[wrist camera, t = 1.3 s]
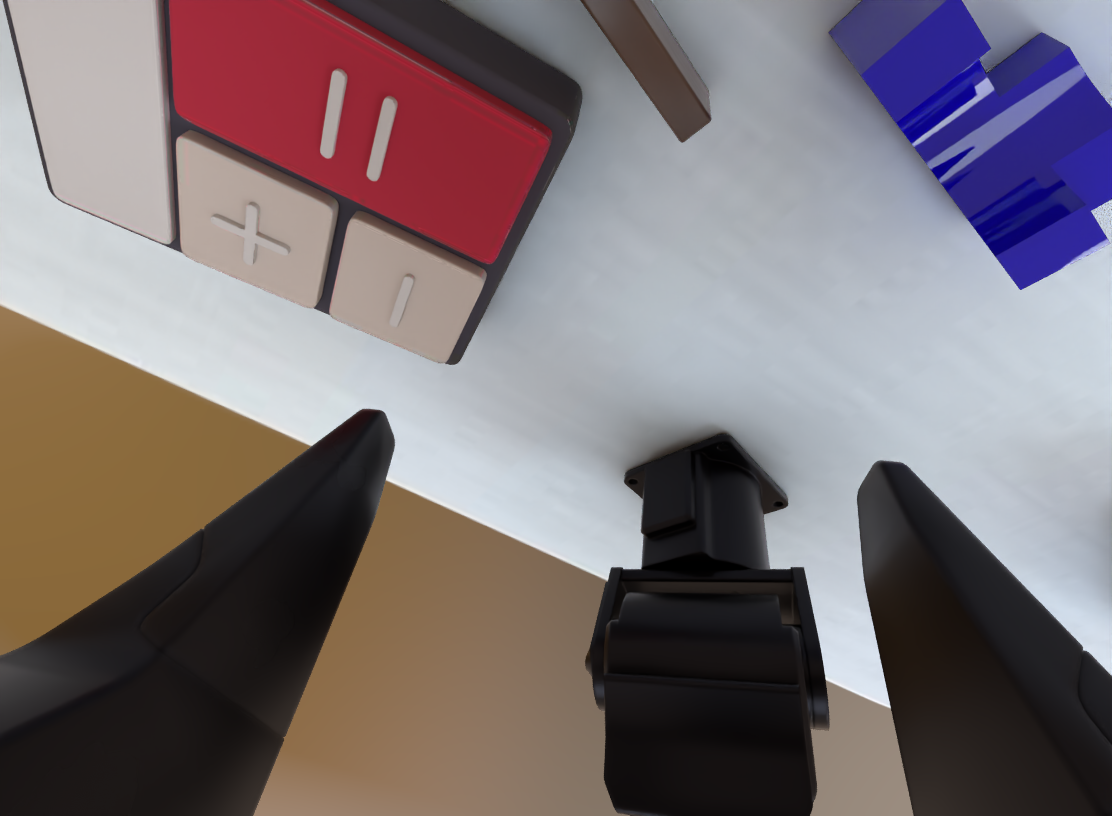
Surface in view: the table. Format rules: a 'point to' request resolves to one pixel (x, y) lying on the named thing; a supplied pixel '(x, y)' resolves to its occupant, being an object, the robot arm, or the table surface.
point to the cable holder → (992, 127)
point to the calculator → (304, 145)
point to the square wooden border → (655, 62)
